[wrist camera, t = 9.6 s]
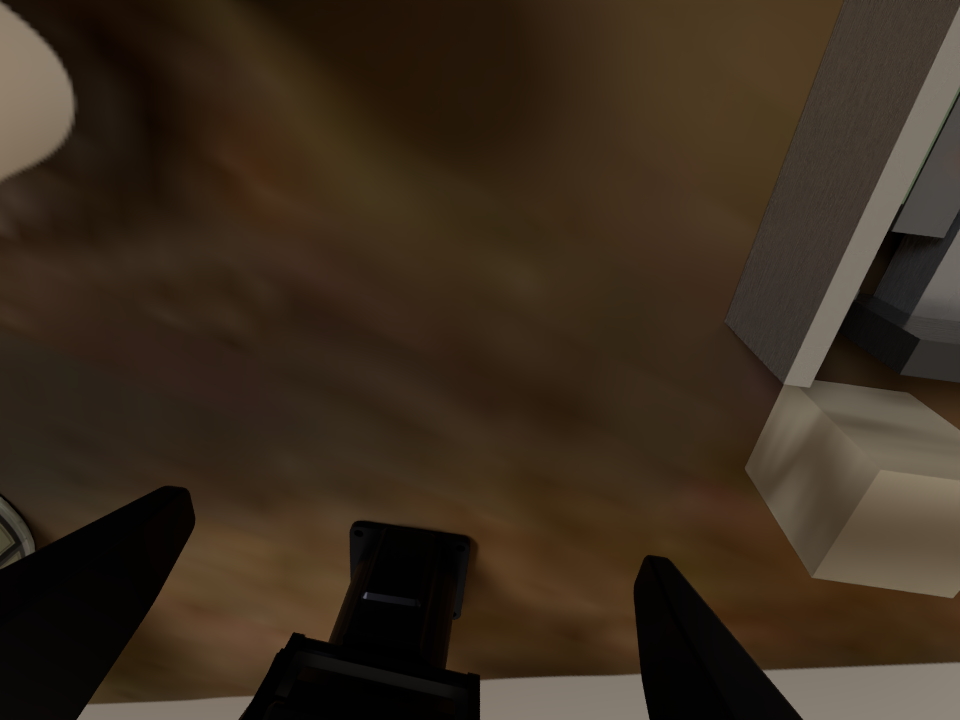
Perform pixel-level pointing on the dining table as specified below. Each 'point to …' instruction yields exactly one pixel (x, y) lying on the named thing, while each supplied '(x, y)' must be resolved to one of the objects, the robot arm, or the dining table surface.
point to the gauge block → (864, 486)
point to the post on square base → (914, 309)
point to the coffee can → (13, 536)
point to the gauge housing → (854, 177)
